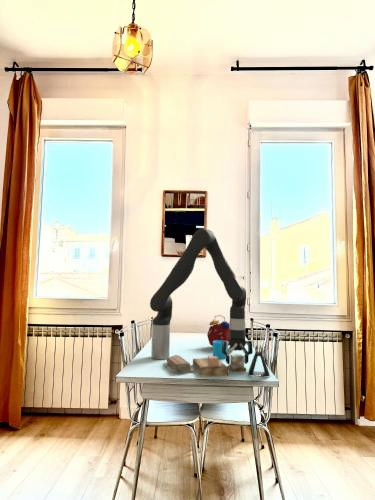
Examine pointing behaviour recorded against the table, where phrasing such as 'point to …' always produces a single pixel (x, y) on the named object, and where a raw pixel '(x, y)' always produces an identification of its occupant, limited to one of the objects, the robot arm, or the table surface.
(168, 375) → the table surface
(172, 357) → the packaged product
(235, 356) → the tan block
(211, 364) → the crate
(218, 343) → the mug
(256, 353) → the dark a-shaped stand
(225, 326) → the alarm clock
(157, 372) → the table surface
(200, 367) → the dock
